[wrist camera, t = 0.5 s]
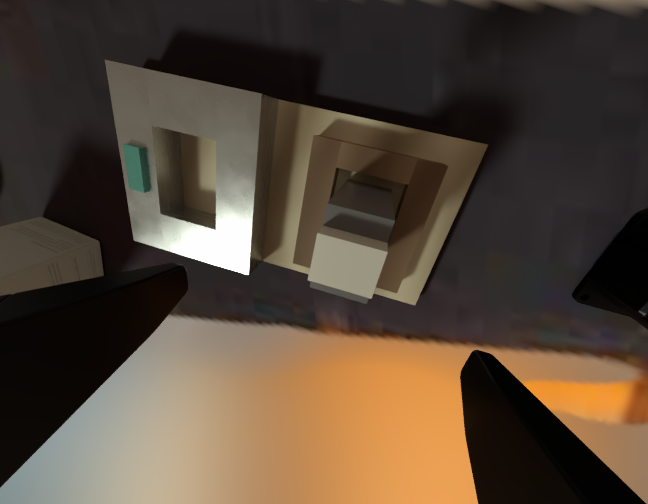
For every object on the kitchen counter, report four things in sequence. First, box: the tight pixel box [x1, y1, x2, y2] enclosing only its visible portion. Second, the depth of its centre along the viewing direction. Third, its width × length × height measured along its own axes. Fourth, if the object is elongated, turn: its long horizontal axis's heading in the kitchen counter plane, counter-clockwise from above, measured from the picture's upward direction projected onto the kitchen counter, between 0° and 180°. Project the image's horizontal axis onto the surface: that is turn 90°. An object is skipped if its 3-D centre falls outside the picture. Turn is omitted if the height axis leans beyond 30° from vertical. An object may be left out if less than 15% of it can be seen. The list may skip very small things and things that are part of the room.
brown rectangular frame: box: [293, 135, 448, 293], centre depth 17 cm, size 8×9×2 cm
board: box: [180, 100, 488, 305], centre depth 19 cm, size 24×12×1 cm, turn 78°
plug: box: [308, 179, 395, 304], centre depth 15 cm, size 3×4×8 cm, turn 168°
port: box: [105, 60, 279, 275], centre depth 18 cm, size 10×12×3 cm
